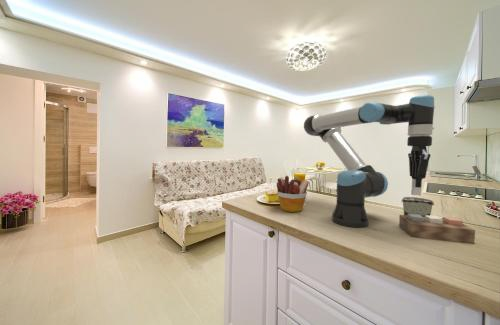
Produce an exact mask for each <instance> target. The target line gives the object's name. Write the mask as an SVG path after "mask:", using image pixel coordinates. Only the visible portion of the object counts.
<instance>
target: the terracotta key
mask: <svg viewBox="0 0 500 325" xmlns="http://www.w3.org/2000/svg"><path fill="white" fill-rule="evenodd" d="M442 218H443V222H444V223H446V224H448V225H458V226H462V224H464V223H463V222H464V221H463V220H462V219H459V218H457V217H450V216H442Z"/></svg>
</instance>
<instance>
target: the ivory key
mask: <svg viewBox="0 0 500 325" xmlns="http://www.w3.org/2000/svg"><path fill="white" fill-rule="evenodd" d="M441 218H442V217H439V216H437V215H430V216H428V215H425V221H427V222H428V223H436V224H443V219H441Z"/></svg>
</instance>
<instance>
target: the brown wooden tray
mask: <svg viewBox="0 0 500 325" xmlns="http://www.w3.org/2000/svg"><path fill="white" fill-rule="evenodd" d="M440 218H441V219H443V217H440ZM398 226H399V227H400V229H402V230H403V231H404V232H405V233H406V234H407V235H408V236H410V237H412V238H419V239H428V240H436V241H437V240H438V241H439V240H440V241H446V242H447V241H448V242H456V243H466V244H475V241H476V240H475V238H476V237H475V236H476V229H474V228H473V227H470V226H468V225H466V224H464V223H463V224H462V226H458V225H448V224H446V223H444V222H443V224H436V223H428V222H427V221H425V217H424V222H413V221H410V220H408V215H404V214H399V223H398Z"/></svg>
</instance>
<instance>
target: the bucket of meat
mask: <svg viewBox="0 0 500 325" xmlns="http://www.w3.org/2000/svg"><path fill="white" fill-rule="evenodd" d="M309 184H310V181H307V180H304V179H303V180H302V181H301V180H300V179H299V177H298V176H295V177H294V179H290V177H289V176H288V175H286V176H285V177H284V178H283V177H282V176H281V177H279V178H277V182H276V189H277V191H276V192H277V197H278V201H279V206H280V209H281V210H283V211H285V212H288V213H300V212H302V210H303V209H304V205H305V201H306V197H307V194H308V192H307V189H308V187H309Z"/></svg>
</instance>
